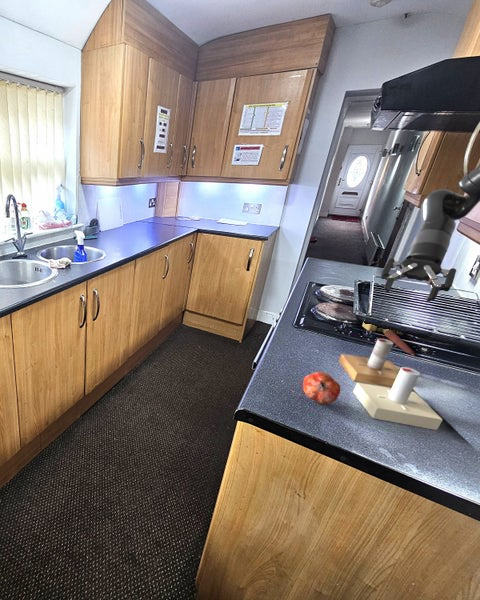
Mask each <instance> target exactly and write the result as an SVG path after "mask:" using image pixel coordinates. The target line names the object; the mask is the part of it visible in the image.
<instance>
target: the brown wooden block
mask: <svg viewBox="0 0 480 600" xmlns="http://www.w3.org/2000/svg"><path fill="white" fill-rule="evenodd" d="M369 359H370V357H365V356H359V355H358V356H356V355H351V354H343V353H341V355H340V357H339V358H338V362H339V364H340V365H341V366H342V368H343V369H344V371H345V372H346V373H347V375H348V376H349V378H350V379H351V381H352V382H354V383H363V384H369V385H375V386H381V387H387V388H392V386H393V384H394V382H395V380H396V378H397V376H398V373H399V371H400V368H399V367H398V366H396V364H394V363H393V362H392V361H391V360H386V362H385V364H384V366H383V368H382V370H376V369H373V368H371V367H369V366H368V365H367V363H368V361H369Z"/></svg>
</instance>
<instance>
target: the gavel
mask: <svg viewBox="0 0 480 600" xmlns="http://www.w3.org/2000/svg"><path fill="white" fill-rule="evenodd" d="M362 327H363V328H364V330H366V331H368V332H378V333H379V332H380V333H383V334H384V336H385V337H386V338H387V339H388V340H389V341H391V342H393V344H395V345H396V346H397V347H399V348H400V349H401V350H402V351H404V352H405V353H407V354H410V355H411V356H415V351H414V350H413V349H412V348H411V347H410V346H409V345H408V344H407V343H406V342H405V341H404V340H403V339H402V338H401V337H399V335H400V336H401V335H403V334H404V333H401V332H398V331H395V330H391V329H390V330H389V329H383V328H377V326H375V325H372V324H365V323H364V321H363V322H362Z"/></svg>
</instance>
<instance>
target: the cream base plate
mask: <svg viewBox="0 0 480 600" xmlns="http://www.w3.org/2000/svg"><path fill="white" fill-rule="evenodd" d="M355 384H356V385H355V387H354V389H353V394H354V395H355V396H356V398H357V399H358V400H359V402H360V403H361V405H362V406H363V407H364V409H365V410H366V411H367V412H368V414H369V416H370V417H371V418H372V419H375V420H381V421H385V422H391V423H396V424H401V425H407V426H412V427H417V428H423V429H427V430H433V431H438V429H439V428H440V425H441V424H442V422H443V420H444V419H443V418H442V417H441V416H440V415H439V414H438V413H436V411H435V410H433V408H432V407H430V405H429V404H427V403H426V402H425V401H424V400H423V399H422V398H421V397H420V396H419V394H418V393H416V391H412V392H411V394H410V396H409V398H408V400H407V402H406V403H405V404H400V403H396V402H394V401H392V400H390V399H389V398H388V395H389V393H390V391H391V388H392V387H386V386H379V385H373V384H366V383H360V382H356V383H355Z"/></svg>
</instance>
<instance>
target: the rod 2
mask: <svg viewBox="0 0 480 600" xmlns="http://www.w3.org/2000/svg"><path fill="white" fill-rule="evenodd" d="M399 370H400V371H399V373H398V376H397V378H396V380H395V382H394V384H393V386H392V387H390V388H391V391H390V393H389V395H388V398H389V399H390V400H392V401H394V402H396V403H400V404H405V403H406V402H407V400H408V398H409V396H410V394H411V392H413V389H414V387H415V386H416V383H417V381H418V379H419V378H420V376H421V373H420V372H419V371H418V370H416V369H414V368H411V367H408V366H407V367H406V366H402V367H401V368H399Z"/></svg>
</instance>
